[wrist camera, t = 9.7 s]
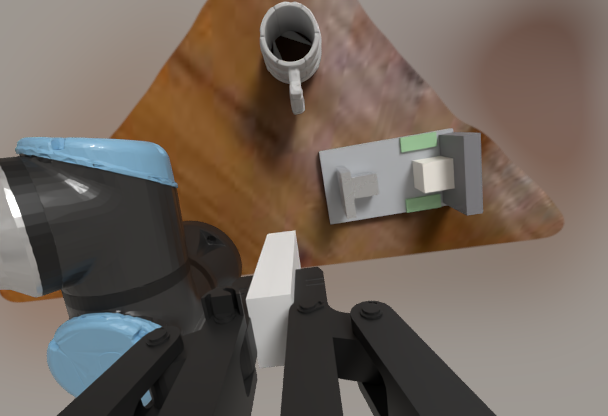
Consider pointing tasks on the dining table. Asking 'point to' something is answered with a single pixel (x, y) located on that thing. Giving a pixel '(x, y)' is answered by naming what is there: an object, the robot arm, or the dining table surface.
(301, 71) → the mug
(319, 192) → the dining table surface
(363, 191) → the plunger
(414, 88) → the dining table surface
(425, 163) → the block
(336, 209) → the bench
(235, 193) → the dining table surface
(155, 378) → the robot arm
